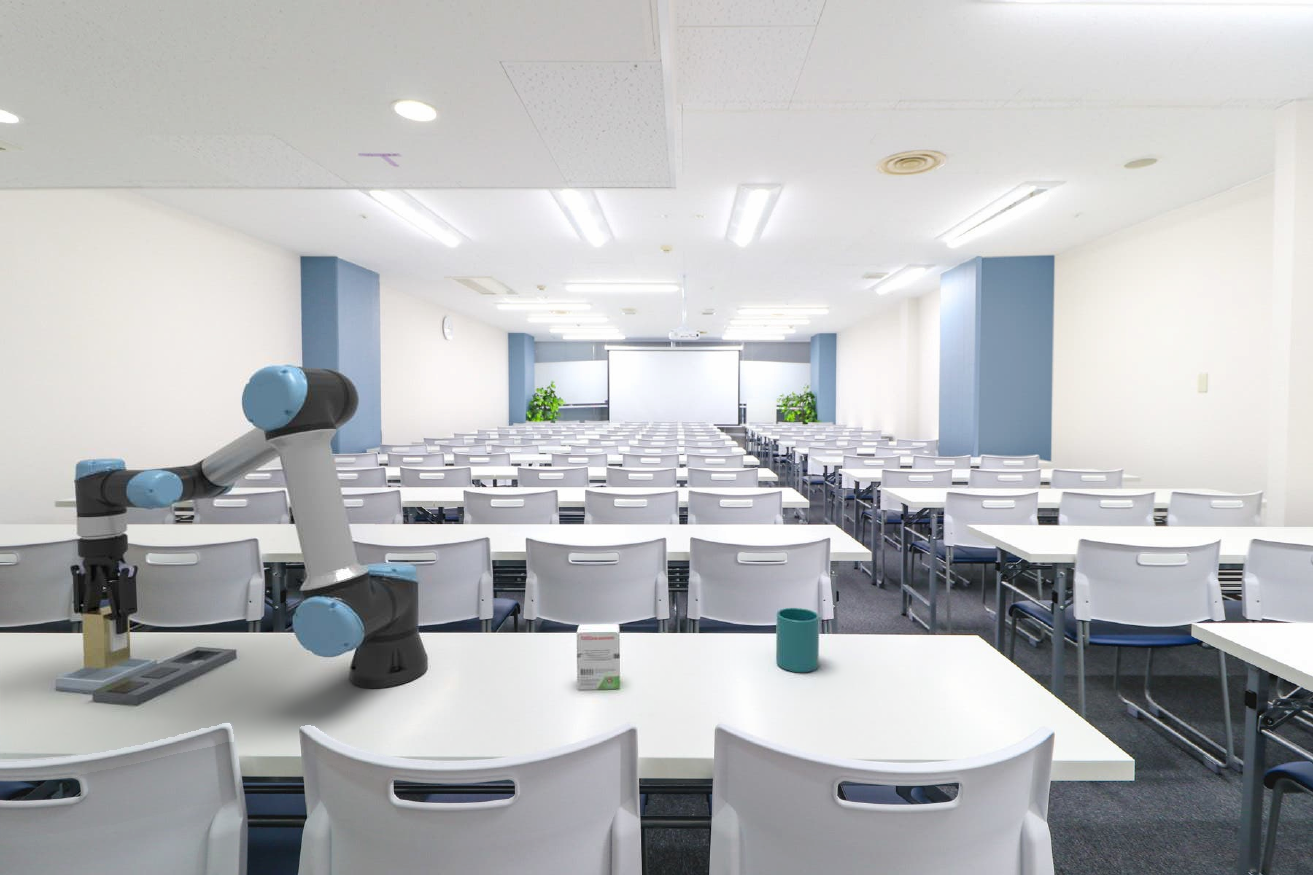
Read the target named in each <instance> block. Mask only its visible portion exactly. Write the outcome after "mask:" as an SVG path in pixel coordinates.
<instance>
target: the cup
mask: <svg viewBox="0 0 1313 875" xmlns="http://www.w3.org/2000/svg"><path fill="white" fill-rule="evenodd" d="M775 630H776V634H775V635H776V642H775V643H776V645H775V648H776V649H775V653H776V654H775V661H776V663H777V665H778V667H780V668H782V669H783V670H785V671H789V672H793V673H801V674H802V673H810V672H813V671H815V670H816V669H818V666H819V663H820V661H819V658H820V657H819V655H820V654H819V653H820V652H819V651H820V650H819V648H820V616H819V614H818V613H817V612H815V611H814V610H810V609H808V608H807V609H806V608H800V607H787V608H786V607H785V608H782V609H779V610H778V611H777V612H776V629H775Z"/></svg>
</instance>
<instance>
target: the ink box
mask: <svg viewBox="0 0 1313 875" xmlns="http://www.w3.org/2000/svg"><path fill="white" fill-rule="evenodd" d="M620 636H621V635H620V624H618V623H615V624H611V623H610V624H578V627H577V630H576V686H577V687H576V688H577V690H578V691H590V690H591V691H592V690H595V691H598V690H619V689H620V688H621V661H620V660H621V655H620V654H621V653H620V652H621V648H620V647H621V646H620V644H621V642H620Z"/></svg>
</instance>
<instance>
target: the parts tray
mask: <svg viewBox="0 0 1313 875" xmlns="http://www.w3.org/2000/svg"><path fill="white" fill-rule="evenodd" d="M156 664H158V659H157V658H143V657H131V656H130V660H128V661H125V662H123V663H120V664H118V665H115V666H112V667H110V668H107V669H94V668H84V666H83V667H81V668H79V669H76V670H73V671H71V672H67V673H66V674H65V673H64V674H63V675H60V676H57V677H55V678H54V679H55V680H54V682H55V683H54V684H55V691H57V692H67V693H76V694H89V695H93V692H92V691H94V690H96V689H99V688H101V687H103V686H106V685H108V684H110V683H113V682H115V681H118V680H120V679H122V678H125V677H127V676H129V675H132V674H134V673H137V672H139V671H141V670H144V669H146V668H148V667H151V666H153V665H156Z"/></svg>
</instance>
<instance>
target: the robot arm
mask: <svg viewBox="0 0 1313 875" xmlns="http://www.w3.org/2000/svg"><path fill="white" fill-rule="evenodd" d="M359 401H360V400H359V394H358V390H357V388H356V386H355V384H354V383H353V381H352V380H351V379H350V378H348V376H346V375H344V374H343V373H340V372H339V371H336V370H332V369H327V368H326V369H325V368H313V367H304V366H296V365H294V364H293V365H291V364H285V365H270V366H266V367H263V368H260V369H259V370H257V371H256V372H254V373H253V374H252V376H251V377H250V378H249V380H248V383H246V384H245V386H244V388H243V392H242V395H241V409H242V411H243V414H244V417H245V419H246V420H247V421H248V422H249V423H251V424H252V426H254V428H253V429H251V430H250V431H248V432H246V433H244V434H242V435H241V436H239V437H238V438H236V439H234V440H232V441H231V442H230V443H228V444H225V446H223V447H221V448H220V449H217V450H216V451H215V452H213V453H211V454H210V455H208V456H206V457H204V458H203V459H201V460H199V461H197V462H196V463H194V464H191V465H182V466H174V467H162V468H152V469H127V466H126V462H125V461H124V460H123V459H121V458H93V459H91V458H89V459H83V460H80V461H78V462H77V463H76V464H75V475H74V480H73V481H74V485H75V486H74V488H75V492H74V493H75V507H76V535H77V536H78V537H80V538H79V539H78V540H77V556H78V557H79V558H82V559H83V560H82V563H79V564H73V565H71V566H70V573H71V576H72V590H73V594H72V596H73V612H74V613H75V614H80V615H81V616H82V614H83V613H86V612H90V611H93V610H96V609H100V608H101V602H102V596H103V591H104V588H105V591H106V596H107V599H108V602H109V606H110V608H111V612H112V616H113V617H112V618H109V629H110V652H114V651H117V650H119V649H122V648H125V647H127V631H128V616H129V617H130V616H131V615H133V614H136V613H137V612H138V599H137V598H138V597H137V596H138V594H137V593H138V592H137V574H138V569H139V566H137V565H132V566H130V565H128V564H126V560H125V557H124V554H125V553H127V551H128V550H129V536H128V535H127V533H126V532H127V531H128V522H127V520H128V517H127V512H128V508H132V509H133V508H136V509H146V510H154V509H166V508H169V507H171V506H172V505H174V504H178V503H182V502H183V503H184V502H191V501H197V500H202V499H203V500H204V499H213V498H214V499H215V498H217V497H219V496H223V495H227V494H229V492H231V491H232V490H233V487H234V486H235V485H236V484H235V483H236V482H237V481H239V480H242V479H243V478H244V477H246V476H248V475H249V474H251V473H253V472H255V471H256V470H258V469H260V468H262V467H263V466H265V465H267V464H269V463H270V462H273V461H274V460H275V459H278V458H279V460H280V464H281V469H282V472H283V477H284V481H285V485H286V491H287V494H288V498H289V504H290V508H291V512H292V517H293V520H294V524H295V525H294V526H295V530H296V533H297V539H298V543H299V547H300V551H301V556H302V558H303V565H304V568H305V572H306V579H305V580H304V582H303V584H302V585H301V586H300V589H299V590H300V594H301V595H300V596H301V599H302V602H301V603H300V604H299V606H297V608H296V609H295V613H294V615H293V616H292V628H293V629H292V630H293V633H294V636H295V637H296V639H297V641H298V642H299V644H300V645H301V646H302V648H304V649H305V650H307V651H310V652H311V653H312V654H314V655H315V656H318V657H321V658H322V657H323V658H335V657H339V656H341V655H344V654H346V653H347V652H351V651H354V653H353V657H352V660H351V662H350V665H349V666H350V667H349V681H350V683H351V684H352V685H354V686H356V687H360V688H365V689H366V688H367V689H379V688H380V689H382V688H388V687H395V686H399V685H403V684H406V683H409V682H412V681H414V680H416V679H418V678H420V677H422V676H423V675H424V674H425V673H426V672H427V670H428V668H429V667H428V666H429V660H428V659H429V658H428V654H427V652H426V650H425V647H424V644H423V641H422V638H421V636H420V632H419V631H420V630H419V584H420V582H419V577H418V569H417V568H416V566H414V565H413V564H411V563H400V562H383V563H382V562H380V563H370V564H365V565H362V564H360V563H359V562H358V557H357V555H356V554H357V553H356V548H355V545H354V541H353V535H352V531H351V527H350V524H349V522H350V521H349V518H348V515H347V510H346V505H345V501H344V497H343V493H342V492H343V491H342V488H341V483H340V480H339V475H338V471H337V466H336V463H335V457H334V453H333V449H332V445H331V441H332V439H333V437H334V436H335V434H337V432H338V431H337V429H339V428H341V427H343V426H344V425H345V424H347V423H348V422H350V420H352V418H353V417H354V416H355V414H356V413H357V411H358V407H359ZM119 611H120V612H119Z"/></svg>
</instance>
